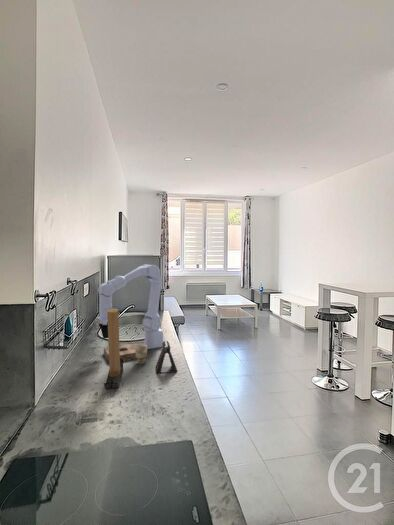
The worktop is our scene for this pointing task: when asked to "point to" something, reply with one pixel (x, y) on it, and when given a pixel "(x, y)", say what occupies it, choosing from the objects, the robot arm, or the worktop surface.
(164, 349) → the dark a-frame stand
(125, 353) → the board
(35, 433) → the worktop surface
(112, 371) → the hammer
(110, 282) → the robot arm
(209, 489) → the worktop surface
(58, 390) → the worktop surface
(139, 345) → the peg
